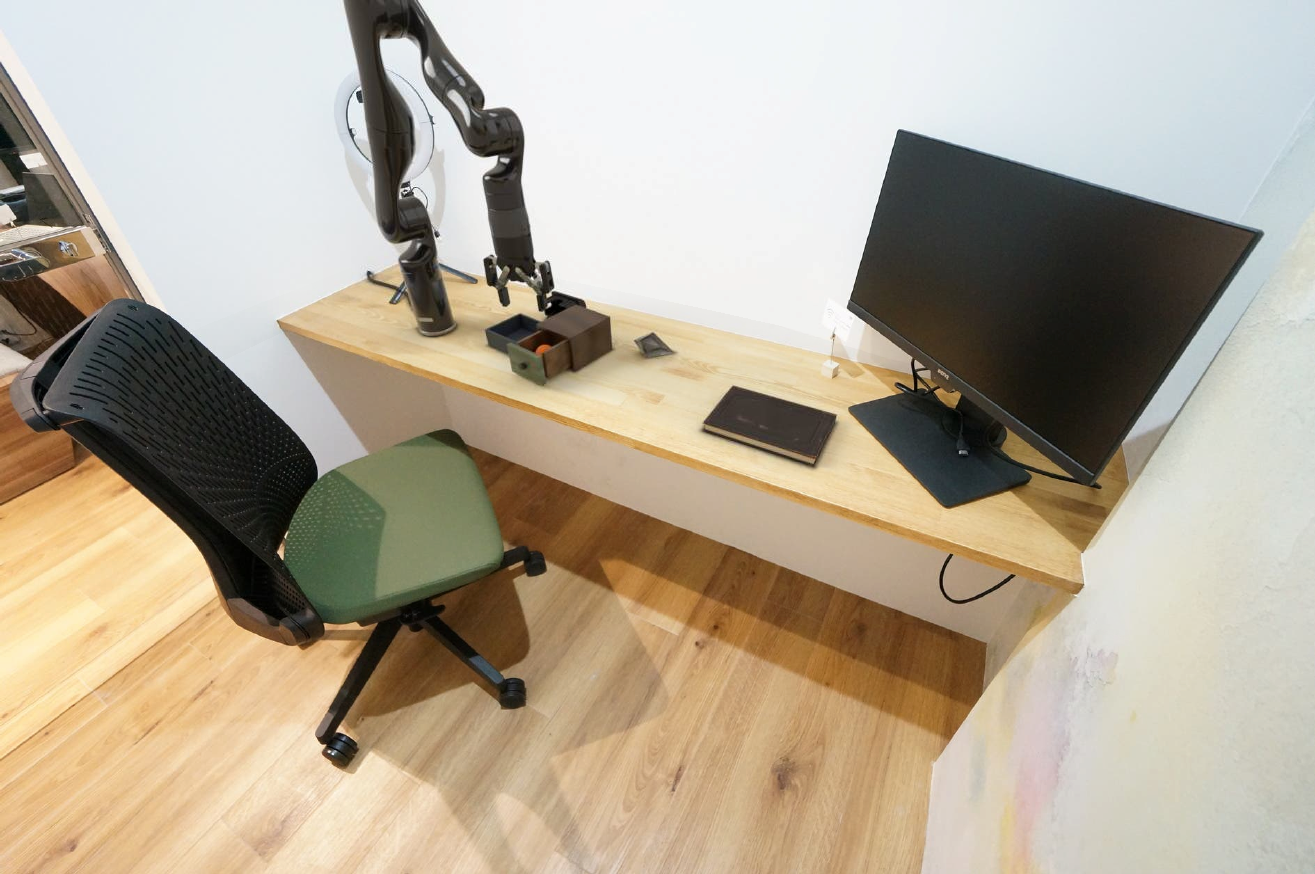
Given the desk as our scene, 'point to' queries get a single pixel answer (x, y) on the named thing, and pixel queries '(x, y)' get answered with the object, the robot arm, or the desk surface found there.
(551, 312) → the end cap
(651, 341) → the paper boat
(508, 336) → the box
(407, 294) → the robot arm
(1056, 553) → the desk surface
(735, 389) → the hardcover book
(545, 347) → the ball
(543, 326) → the cabinet
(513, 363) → the drawer
